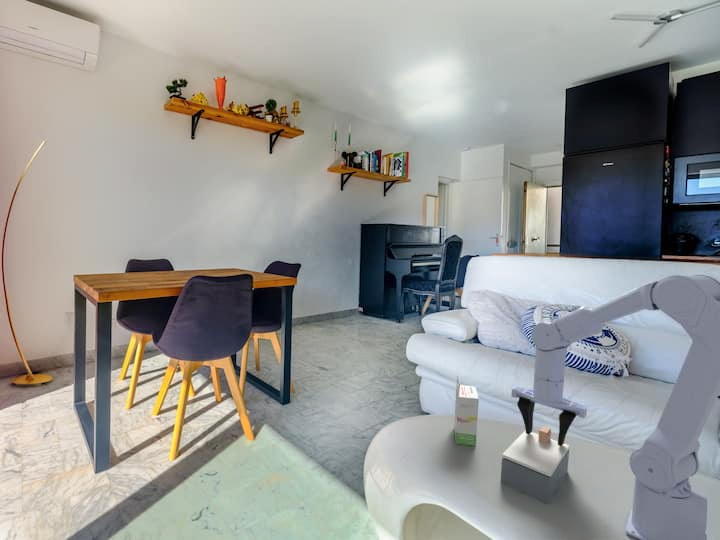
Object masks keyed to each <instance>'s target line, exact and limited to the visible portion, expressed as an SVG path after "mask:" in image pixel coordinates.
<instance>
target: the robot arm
mask: <svg viewBox="0 0 720 540" xmlns="http://www.w3.org/2000/svg"><path fill="white" fill-rule="evenodd" d="M644 310H645V311H647V310H648V311H661V312H662V313H664V314H665V315H666V316H668V317H669V318H671V319H672V320H673V321H675V322H676V323H678V325H680V326H681V327H682V328H683V330H684V331H685V333H686V334H687V335H688V336H689V338H691V341H692V342H691V344H690V347H689V350H688V352H687V354H686V356H685V358H684V361H683V363H682V366H681V368H680V370H679V372H678V376H677V378H676V380H675V383H673V387H672V390H671V392H670V394H669V397H668V399H667V402H665V403H666V404H665V407H664V408H663V410H662V413H661V416H660V418H659V420H658V423H657V425H656V426H655V427H654V429H653V430H652V431H651V432H650V434H648V435H647V437H646V438H645V440H644V442H643V445H641V447H639V448H637V449H636V450H634V451H633V452H632V453H631V454H630V457H629V466H630V467H629V468H631V472H632V473H633V475H634V484H633V485H634V486H633V498H632V507H630V511H629V513H628V514H629V516H628V519H627V523H626V527H625V533H626V534H628V535H629V536H632V538H633V537H634V538H636V539H638V540H707V539H708V535H707V534H706V531H707V519H708V499H707V498H706V497H704V496H702V495H699V494H698V493H696V492H695V491H692V486H691V483H690V477H693V476H694V475H696V474H697V473H698V471H699V469H700V461H699V457H698V455H699V450H700V447H701V443H700V442H699V438H700V436H701V433H702V431H703V430H704V427H705V425H706V423H707V420H708V419H709V417H710V414H711V412H712V410H713V408H714V405H715V403H716V401H717V399H718V397H719V394H720V281H719V280H718V279H716V278H715V277H712V276H710V275H705V274H694V275H682V274H681V275H680V274H673V275H668V276H665V277H663V278H661V279H659V280H655V281H651V282H647V283H645V284H642V285H641V286H637V287H635V288H634V289H632V290H630V291H627V292H626V293H623V294H621V295H620V296H617V297H615V298H613V299H611V300H608V301H607V302H604V303H603V304H601V305H599V306H597V307H595V308H593V307H590V306H587V305H583V306H581V305H575V306H573V307H570V312H567V313H565V314H562V315H560V316H559V315H555V316H553V317H552V318H551V322H545V321H544V322H542V321H540V322H538V323H537V324H536V325H535V326H534V327H533V328H532V330H531V334H530V336H531V337H530V338H531V341H532V344H533V345H534V346H535V347H536V348H535V359H534V361H535V363H534V371H533V373H534V376H533V388H532V389H530V388H529V389H528V388H522V387H519V386H513V387H512V388H511V396H510V397H512V398H515V399H517V398H519V399H518V401H517V403H516V404H517V408H518V409H519V410H518V411H520V414H521V417H522V420H523V422H524V423H523V424H524V429H525V430H526V434H530V433H531V432H533V427H534V426H533V425H534V411H535V405H536V404H539V405H542V406H545V407H549V408H552V409H555V410H559V411H561V413H560V414H559V415H558V420H559V424H558V425H559V426H558V427H559V433H558V436H557V437H558V438H557V441H558V445H559V446H562V445H563V444H565V439H566V435H567V434H568V431H569V429H570V427H571V425H572V424H573V422H574V420H575V419H576V417H577V416H578V418H582V419H586V417H587V410H588V406H586V405H584V404H580V403H578V402H575V401H572V400H570V399H567V398H565V397H564V384H565V374H566V360H567V359H566V357H567V355H568V349H569V347H571V346H572V344H575V343H577V342H580V341H582V340H584V339H587V338H590V337H593V336H595V335H598V334H600V333H602V332H603V329H604V326H605V324H608V323H610V322H613V321H615V320H619V319H621V318H624V317H627V316H630V315H633V314H635V313H638V312H641V311H644Z"/></svg>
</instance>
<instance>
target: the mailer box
mask: <svg viewBox="0 0 720 540" xmlns="http://www.w3.org/2000/svg"><path fill="white" fill-rule="evenodd" d="M569 456H570V448H569V449H568V451H567V452H566V454H565V455H564V457H563V459H562V460H561V462H560V463H559V465H558V466H557V468H556V470H555V471H554V473H553V474H552V476H551V477H549V476H547V475H544V474H542V473H540V472H537V471H535V470H532V469H530V468H528V467H525V466H523V465H520V464H518V463H515V462H513V461H511V460H508V459H506V458H503V457H501V468H500V470H501V471H500V483H501V484H503V485H506V486H508V487H510V488H513V489H515V490H517V491H519V492H521V493H523V494H525V495H528V496H530V497H531V498H534V499H536V500H538V501H541V502H543V503H545V504H547V505H549V504H550V503H551V501H552V499H553V498H554V496H555V494H556V492H557V490H558V488H559V487H560V485H561V484H562V482H563V480H564V478H565V477H566V475H567V473H568V469H569Z"/></svg>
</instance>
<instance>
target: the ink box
mask: <svg viewBox="0 0 720 540" xmlns="http://www.w3.org/2000/svg"><path fill="white" fill-rule="evenodd" d="M456 377H457V378H456V389H455V391H456V392H455V406H454V420H453V421H454V423H453V430H454V438H455V444H457V445H465V446H470V445H471V446H472V447H476V446H477V431H478V416H479V415H478V414H479V403H480V401H479V400H480V399H479V394H478V391H477V387H476V386H473V385H466V384H465V385H464V384H461V380H460V377H459V374H457V376H456Z"/></svg>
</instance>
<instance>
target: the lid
mask: <svg viewBox="0 0 720 540" xmlns="http://www.w3.org/2000/svg"><path fill="white" fill-rule="evenodd" d="M551 435H552V428H551V427H549V426H545V425H542V426H541V428H540V429H539V430H538V433H536V432H533V431H532V432H531V433H530V434H526V429H525V430H524V431H523V432H522V433H521V434H520V435H519V436H518V437H517V438H516V439H515V440H514V441H513V442H512V444H510V446H508V448H506V450H505V451H504V452H503V453H502V454H501V458H506V459H508V460H511V461H513V462H515V463H518V464H520V465H523V466H525V467H528V468H530V469H532V470H535V471H537V472H540V473H542V474H544V475H547V476H549V477H551V476H552V474H553V473H554V471H555V470H556V468H557V466H558V465H559V463H560V462H561V460H562V459H563V457H564V455H565V454H566V452H567V451H568V449H569V450H570V445H569V444H567V443H564V444H563V445H562V446H559V445H558V440H555V439H554V438H553V439H552V438H551Z"/></svg>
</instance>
